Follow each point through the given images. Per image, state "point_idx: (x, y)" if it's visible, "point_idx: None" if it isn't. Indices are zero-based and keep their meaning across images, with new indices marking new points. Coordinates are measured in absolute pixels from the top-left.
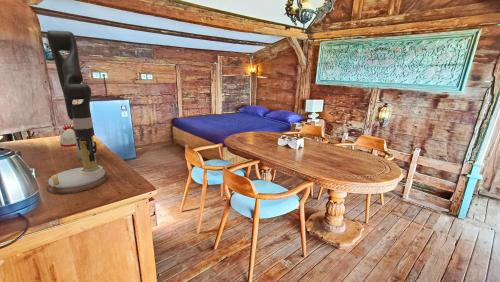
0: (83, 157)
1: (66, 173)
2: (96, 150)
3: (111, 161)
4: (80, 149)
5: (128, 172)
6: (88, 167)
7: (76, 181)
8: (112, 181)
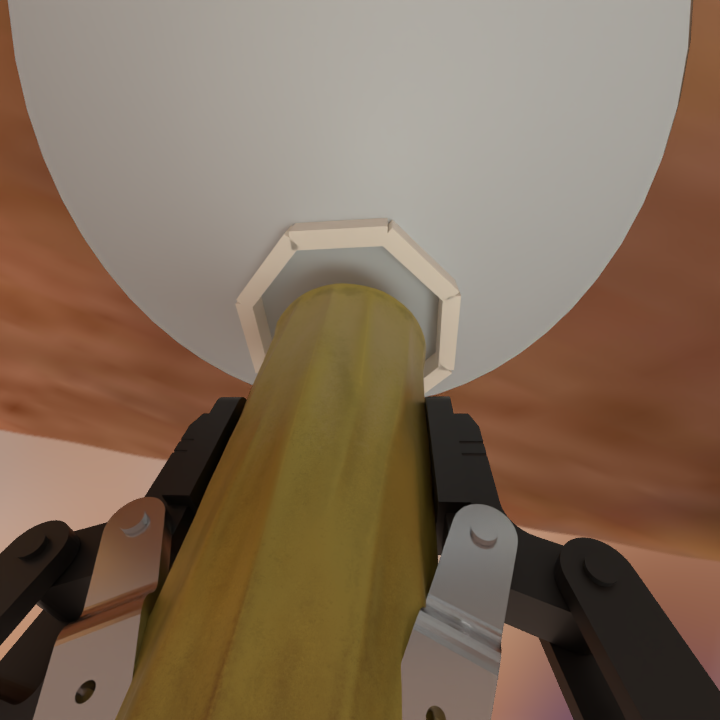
0: (287, 401)
1: (543, 96)
2: (37, 633)
3: (565, 500)
4: (557, 563)
5: None
6: (282, 323)
7: (113, 67)
8: (162, 344)
